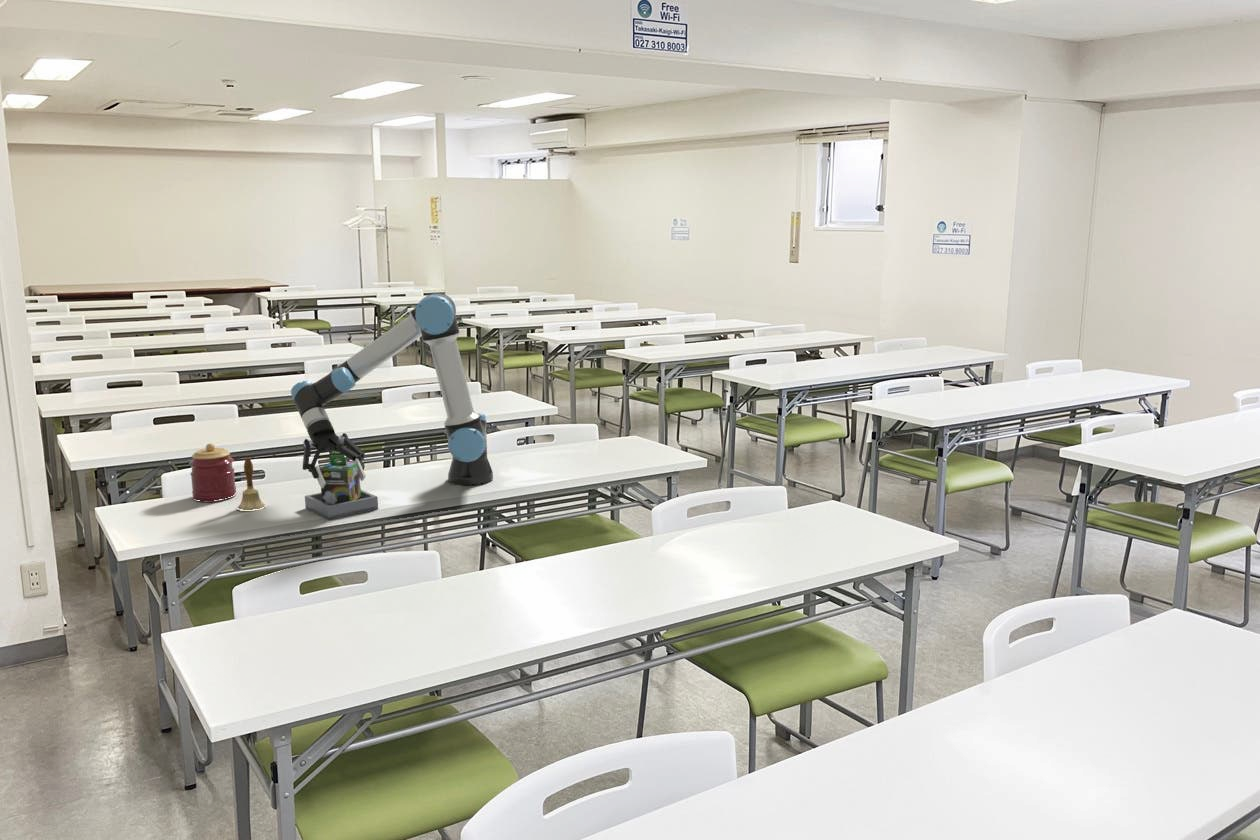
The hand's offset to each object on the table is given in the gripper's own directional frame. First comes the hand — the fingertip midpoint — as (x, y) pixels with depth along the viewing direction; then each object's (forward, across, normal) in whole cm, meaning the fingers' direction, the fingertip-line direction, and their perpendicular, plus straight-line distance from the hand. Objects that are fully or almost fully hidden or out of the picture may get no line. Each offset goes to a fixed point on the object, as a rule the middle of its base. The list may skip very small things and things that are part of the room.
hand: (343, 482), depth 294 cm
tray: (+5, 0, -8) cm, 9 cm away
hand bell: (-9, +20, -22) cm, 31 cm away
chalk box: (+3, 0, -7) cm, 7 cm away
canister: (-24, +24, -36) cm, 50 cm away
